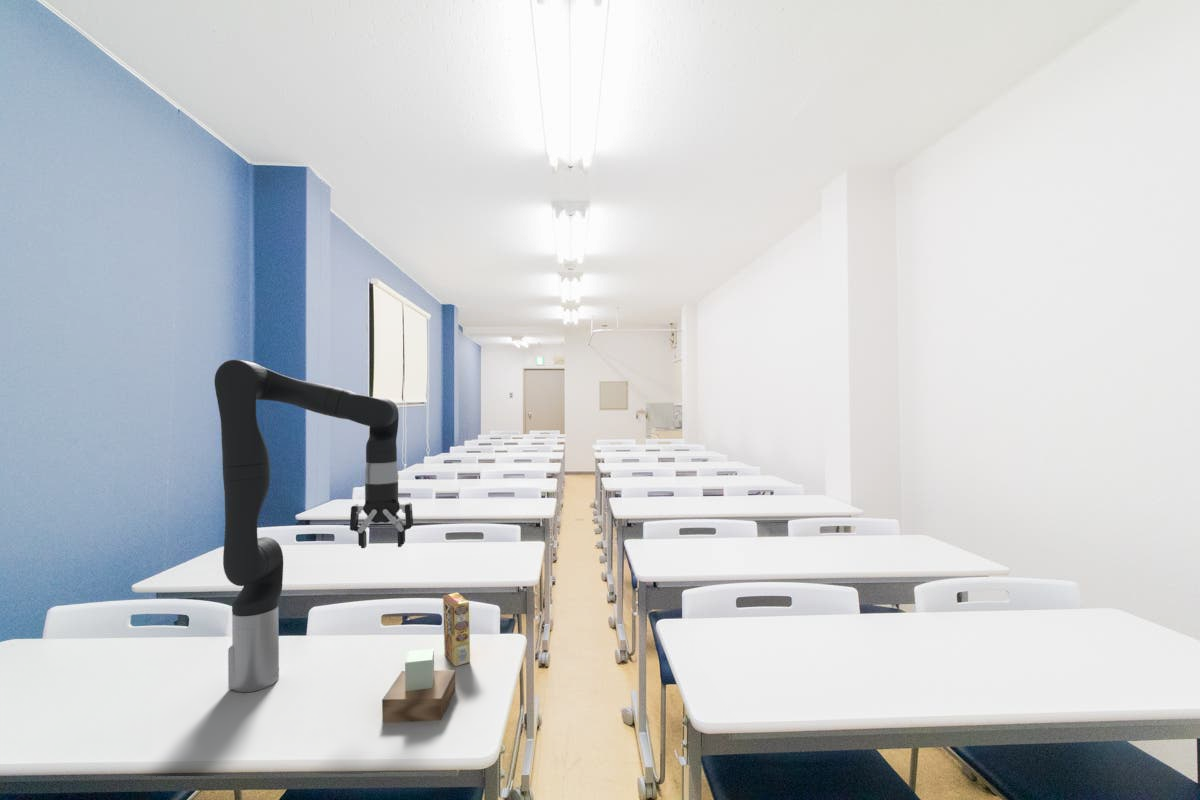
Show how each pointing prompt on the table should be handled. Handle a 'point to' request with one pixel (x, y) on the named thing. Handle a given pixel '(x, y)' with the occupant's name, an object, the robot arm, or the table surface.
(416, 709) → the walnut block
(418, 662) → the sage cube
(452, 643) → the candy box
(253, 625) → the robot arm
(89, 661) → the table surface
